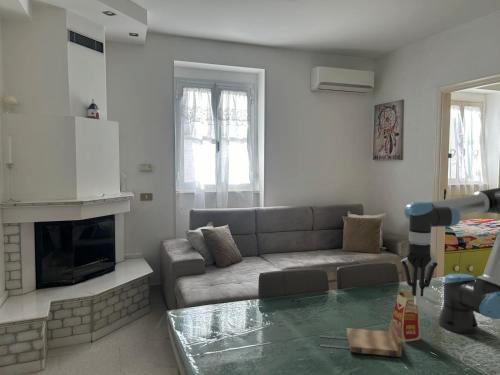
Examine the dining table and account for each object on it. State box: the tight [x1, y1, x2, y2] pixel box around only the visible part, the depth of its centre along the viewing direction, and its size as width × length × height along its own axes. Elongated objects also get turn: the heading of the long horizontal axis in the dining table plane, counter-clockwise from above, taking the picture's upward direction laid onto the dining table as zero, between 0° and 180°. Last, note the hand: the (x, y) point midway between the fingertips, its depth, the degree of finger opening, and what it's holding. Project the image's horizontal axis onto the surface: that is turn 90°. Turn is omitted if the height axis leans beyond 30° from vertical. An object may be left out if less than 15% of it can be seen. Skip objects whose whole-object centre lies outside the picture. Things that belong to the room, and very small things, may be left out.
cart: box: [346, 323, 403, 358], centre depth 143 cm, size 18×18×5 cm
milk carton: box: [390, 288, 421, 343], centre depth 152 cm, size 9×9×20 cm
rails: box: [319, 335, 403, 355], centre depth 144 cm, size 30×9×1 cm, turn 80°
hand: (417, 304), depth 140 cm, fingers closed
